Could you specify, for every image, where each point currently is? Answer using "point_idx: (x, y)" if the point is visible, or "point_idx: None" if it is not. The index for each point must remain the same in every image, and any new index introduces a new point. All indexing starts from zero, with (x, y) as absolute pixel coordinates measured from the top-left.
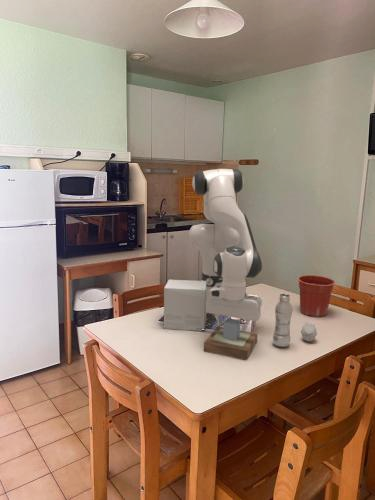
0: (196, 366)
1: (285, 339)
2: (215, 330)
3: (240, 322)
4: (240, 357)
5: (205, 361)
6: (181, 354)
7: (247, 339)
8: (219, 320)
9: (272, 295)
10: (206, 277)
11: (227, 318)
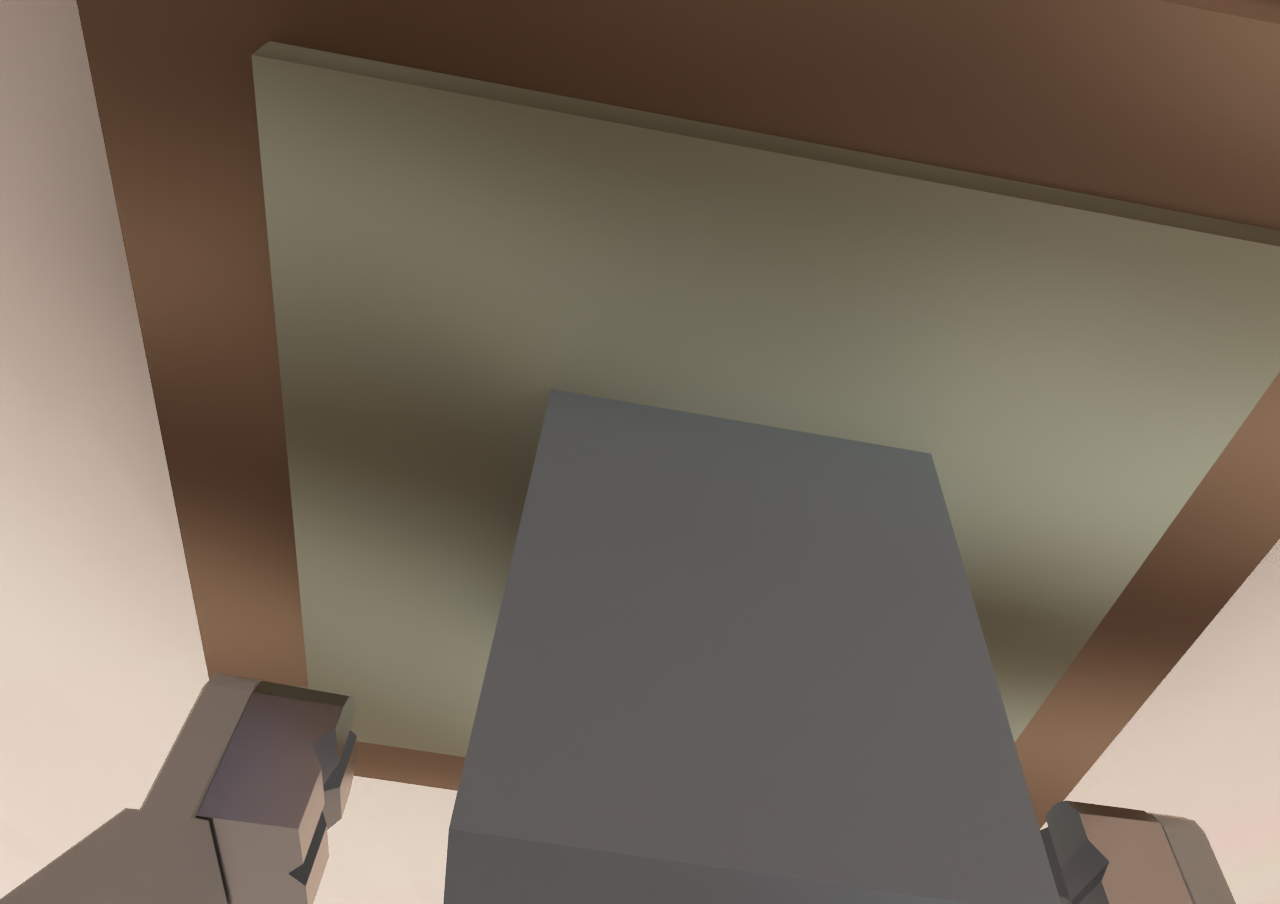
0: (369, 875)
1: None
2: (147, 215)
3: (1034, 819)
4: None
5: (423, 802)
6: (57, 727)
7: (1106, 607)
8: (204, 899)
9: None
10: None
11: (450, 862)
